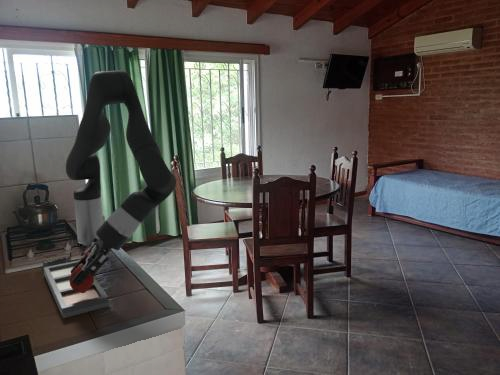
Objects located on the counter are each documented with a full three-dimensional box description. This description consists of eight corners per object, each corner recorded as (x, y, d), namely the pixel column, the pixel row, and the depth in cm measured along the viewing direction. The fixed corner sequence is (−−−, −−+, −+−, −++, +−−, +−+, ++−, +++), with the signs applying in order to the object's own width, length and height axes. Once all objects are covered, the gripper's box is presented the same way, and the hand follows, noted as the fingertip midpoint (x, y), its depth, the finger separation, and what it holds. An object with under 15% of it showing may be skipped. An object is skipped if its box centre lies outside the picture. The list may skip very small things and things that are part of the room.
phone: (41, 268, 126) (46, 252, 140) (42, 272, 127) (46, 255, 140) (69, 265, 129) (71, 249, 143) (69, 268, 130) (71, 252, 143)
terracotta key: (61, 297, 107) (61, 295, 107) (93, 289, 111) (93, 288, 111) (67, 309, 100) (67, 308, 100) (101, 301, 105) (101, 299, 104)
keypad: (44, 275, 123) (43, 267, 123) (82, 267, 129) (81, 259, 129) (62, 318, 98) (61, 308, 98) (108, 306, 104) (108, 296, 104)
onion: (71, 300, 102) (68, 270, 100) (70, 290, 107) (67, 262, 105) (96, 294, 104) (93, 265, 103) (93, 286, 109) (91, 258, 108)
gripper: (104, 212, 111) (60, 261, 109) (111, 226, 99) (62, 282, 96) (125, 228, 115) (83, 276, 112) (135, 244, 102) (88, 298, 99)
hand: (74, 278), depth 104 cm, fingers closed on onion, 5 cm apart
